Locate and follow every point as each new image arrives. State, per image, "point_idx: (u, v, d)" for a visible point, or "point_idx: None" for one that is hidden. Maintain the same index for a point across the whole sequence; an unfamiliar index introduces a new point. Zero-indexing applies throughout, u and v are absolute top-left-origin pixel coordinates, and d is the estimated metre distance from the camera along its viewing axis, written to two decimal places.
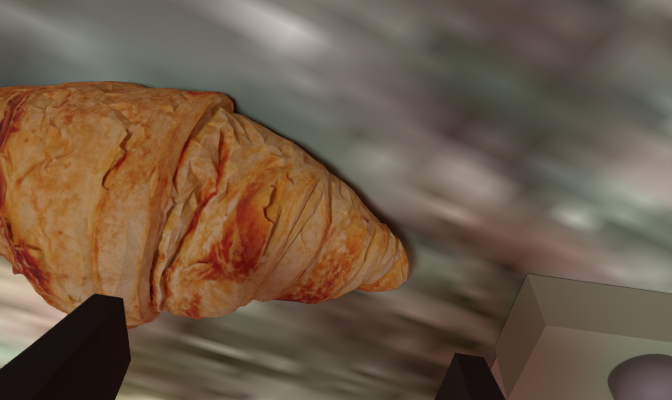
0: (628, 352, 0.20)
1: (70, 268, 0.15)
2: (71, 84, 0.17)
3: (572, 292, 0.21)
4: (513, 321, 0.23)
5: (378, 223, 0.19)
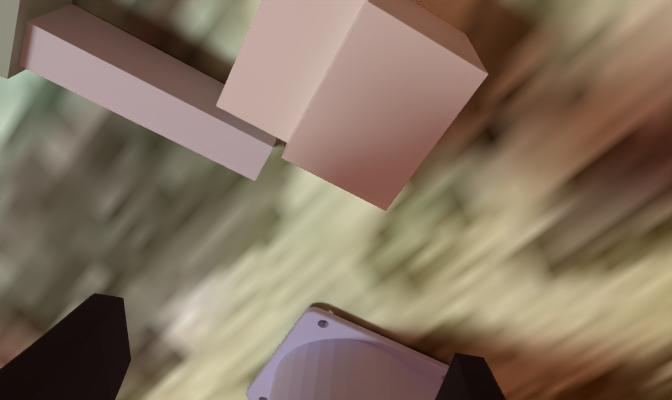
0: None
1: None
2: None
3: None
4: None
5: None
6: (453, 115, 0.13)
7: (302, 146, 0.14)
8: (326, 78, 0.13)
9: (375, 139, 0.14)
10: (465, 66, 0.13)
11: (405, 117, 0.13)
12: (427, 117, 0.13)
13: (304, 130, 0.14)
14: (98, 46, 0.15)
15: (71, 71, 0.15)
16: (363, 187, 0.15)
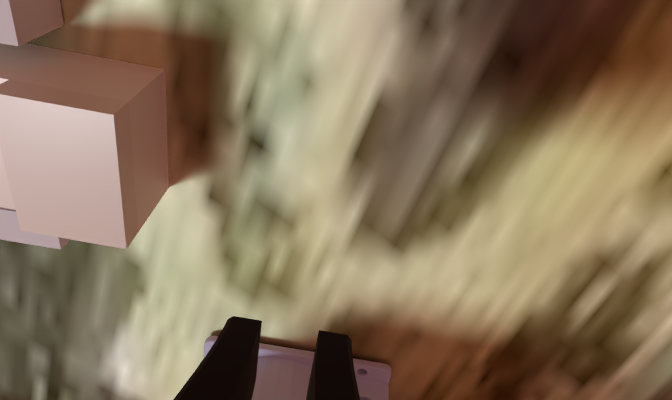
0: None
1: None
2: None
3: None
4: None
5: None
6: (114, 156, 0.15)
7: (28, 216, 0.16)
8: (3, 159, 0.15)
9: (74, 194, 0.16)
10: (92, 114, 0.14)
11: (81, 170, 0.15)
12: (97, 164, 0.15)
13: (19, 204, 0.16)
14: None
15: None
16: (96, 235, 0.16)
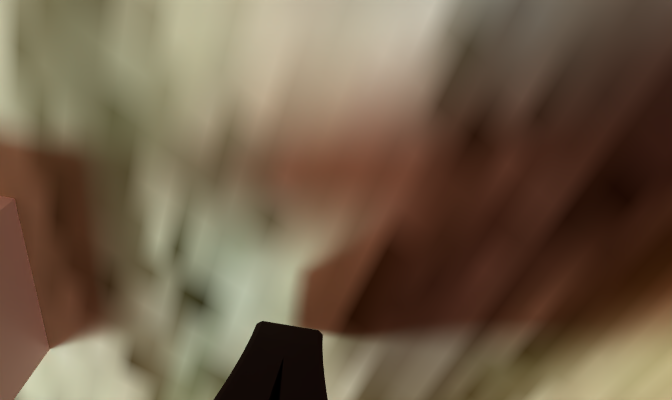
0: None
1: None
2: None
3: None
4: None
5: None
6: None
7: None
8: None
9: None
10: None
11: None
12: None
13: None
14: None
15: None
16: None
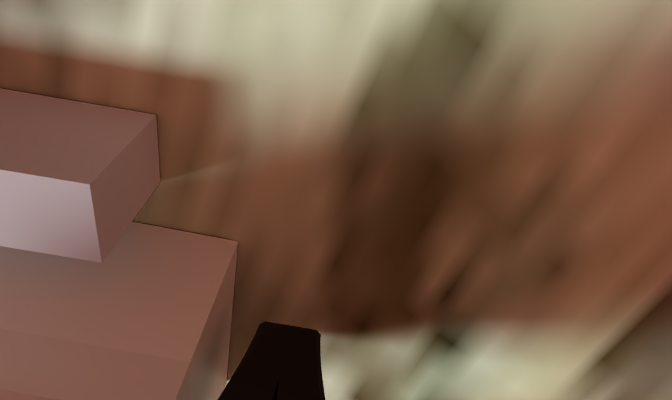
0: None
1: None
2: None
3: None
4: None
5: None
6: None
7: None
8: None
9: None
10: None
11: None
12: None
13: None
14: None
15: None
16: None
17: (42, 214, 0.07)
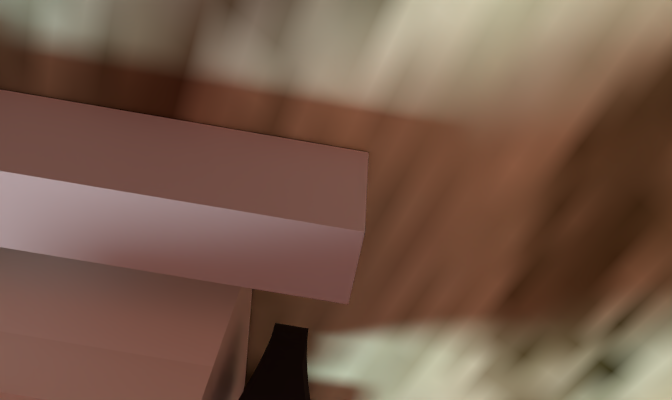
0: None
1: None
2: None
3: None
4: None
5: None
6: None
7: None
8: None
9: None
10: None
11: None
12: None
13: None
14: None
15: None
16: None
17: (304, 259, 0.07)
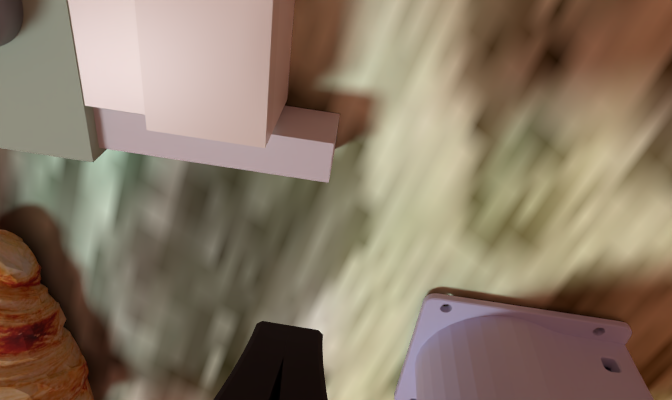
0: None
1: None
2: None
3: None
4: None
5: None
6: (268, 24, 0.13)
7: (157, 111, 0.14)
8: (138, 36, 0.13)
9: (214, 78, 0.14)
10: None
11: (226, 44, 0.13)
12: (246, 36, 0.13)
13: (150, 95, 0.14)
14: None
15: (140, 137, 0.16)
16: (232, 131, 0.14)
17: None
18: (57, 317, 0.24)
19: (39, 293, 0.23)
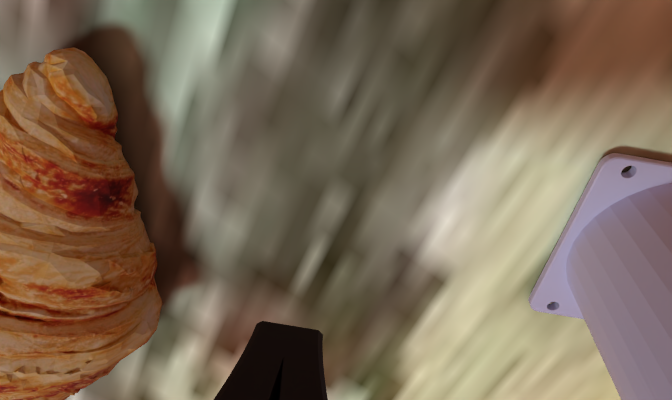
0: None
1: None
2: None
3: None
4: None
5: None
6: None
7: None
8: None
9: None
10: None
11: None
12: None
13: None
14: None
15: None
16: None
17: None
18: (133, 184, 0.19)
19: (116, 147, 0.18)
